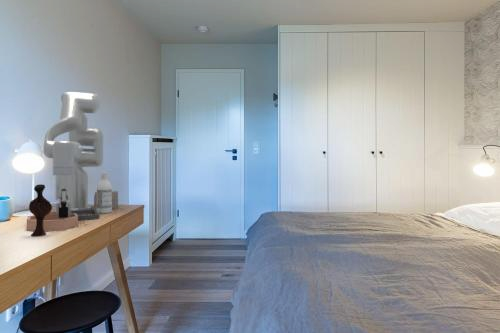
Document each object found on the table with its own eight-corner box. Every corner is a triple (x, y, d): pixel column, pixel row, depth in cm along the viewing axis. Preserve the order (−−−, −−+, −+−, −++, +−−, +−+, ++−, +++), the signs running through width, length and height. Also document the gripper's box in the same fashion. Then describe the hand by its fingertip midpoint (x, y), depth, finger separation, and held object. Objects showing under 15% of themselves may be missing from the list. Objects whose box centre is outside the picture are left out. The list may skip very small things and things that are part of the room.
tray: (48, 216, 148) (48, 212, 147) (95, 213, 158) (95, 209, 158) (47, 222, 135) (48, 217, 135) (99, 218, 145) (99, 214, 145)
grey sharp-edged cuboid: (56, 217, 132) (56, 202, 132) (70, 216, 134) (70, 202, 134) (56, 219, 128) (56, 204, 128) (70, 218, 131) (70, 203, 130)
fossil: (97, 211, 163) (97, 192, 163) (93, 210, 165) (93, 192, 165) (118, 208, 173) (118, 190, 173) (114, 207, 175) (114, 190, 175)
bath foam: (97, 211, 164) (98, 171, 163) (112, 210, 166) (113, 172, 165) (95, 213, 157) (96, 172, 156) (110, 213, 159) (111, 172, 159)
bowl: (28, 224, 131) (28, 214, 131) (75, 220, 140) (75, 211, 140) (25, 233, 117) (25, 222, 117) (78, 228, 126) (78, 218, 126)
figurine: (54, 232, 119) (54, 184, 118) (48, 236, 114) (49, 185, 113) (31, 233, 117) (32, 183, 117) (25, 236, 112) (25, 185, 112)
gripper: (52, 170, 136) (52, 213, 136) (52, 172, 121) (52, 220, 122) (72, 170, 140) (72, 212, 140) (75, 172, 125) (75, 219, 126)
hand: (63, 215), depth 131 cm, fingers closed on grey sharp-edged cuboid, 4 cm apart
